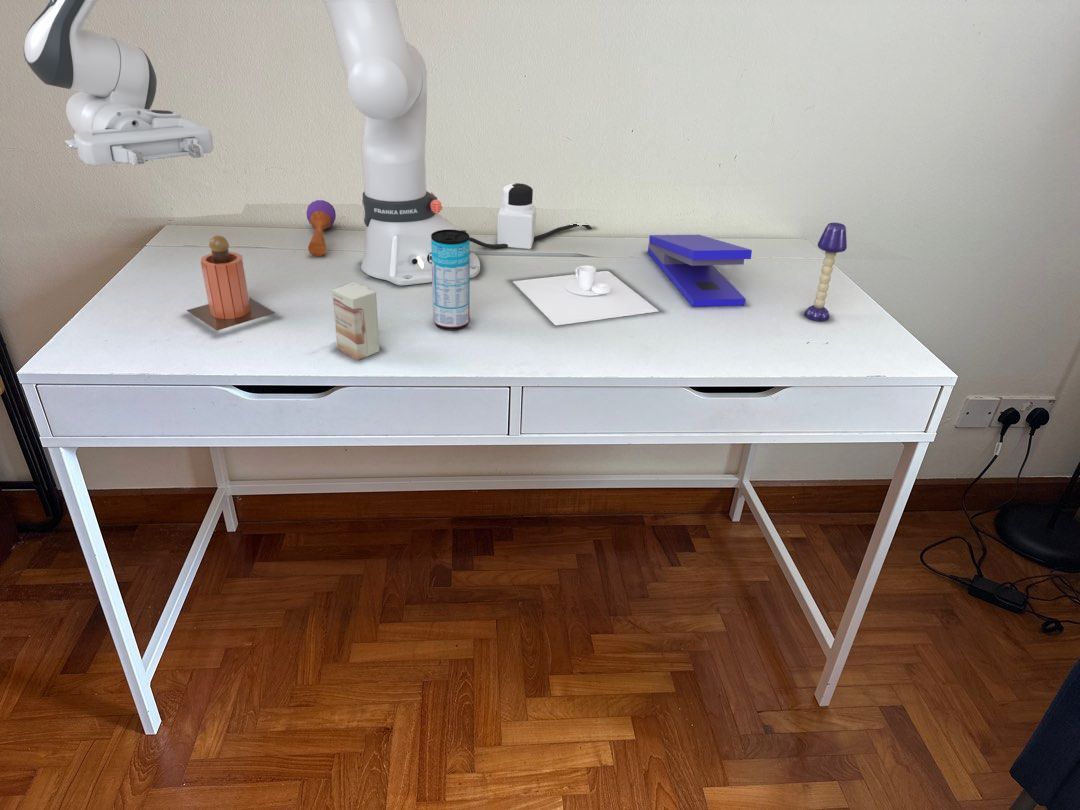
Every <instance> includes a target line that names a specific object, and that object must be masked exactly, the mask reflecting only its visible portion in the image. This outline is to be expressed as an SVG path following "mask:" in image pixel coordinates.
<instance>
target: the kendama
mask: <svg viewBox="0 0 1080 810" xmlns="http://www.w3.org/2000/svg"><path fill="white" fill-rule="evenodd" d="M305 214H306V219H307V221H308V223H309V224H310V225H311V226H312V227H313V228H314V233H313V235H312V237H311V239H310V241H309V244H308V247H307V248H308V252H309V253H310V255H312V256H314V257H321V256H324V255H325V254H326V253H327V252H326V251H327V247H326V240H325V239H326V238H325V234H324V231H325V230H327V229H329V228H331V227H332V226H333V225H334V224H335V222H336V217H337V214H336V210H335V208H334V206H333V205H332V204H331V203H330V202H329V201H326V200H324V199H318V200H314V201H311V203H310V204H308V206H307V209H306V212H305Z"/></svg>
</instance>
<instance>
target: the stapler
mask: <svg viewBox="0 0 1080 810" xmlns="http://www.w3.org/2000/svg"><path fill="white" fill-rule="evenodd" d="M752 253H753V249H751V248H747V247H743V246H739V245H737V244H734V243H730V242H727V241H722V240H719V239H716V238H712V237H708V236H706V235H703V234H649V240H648V247H647V254H648V256H649V257H650V258H651V259H652V261H653V262H654V263H655V264H656V265H657V266H658V267H659V269H660V270H661V271H662V272H663V273H664V275H665V276H666V277H667V279H669V281H670V282H671V283H672V284H673V285H674V287H675V288H676V289H677V290H678V291H679V292H680V294H681V295H682V296H683V297H684V299H685V300H686V301H687V302H688V303H689V304H690V306H691V307H692V308H701V307H703V308H704V307H732V306H733V307H734V306H735V307H736V306H745V304H746V300H747V299H746V297H745V296H744V295H742V293H741V292H740V291H739V290H738V289H737V288H736V287H735V286H734V285H733V284H732V283H731V282H730V281H728V279H727V278H725V276H724V275H723V274H722V273H721V272H720V271H719V270H718V269H716V268H715V266H743V265H744V264H745V260H751V259H752Z"/></svg>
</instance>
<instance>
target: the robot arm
mask: <svg viewBox="0 0 1080 810" xmlns="http://www.w3.org/2000/svg"><path fill="white" fill-rule="evenodd" d="M98 1H99V0H49V2H48V3H47V5H46V6H45V8H44V9H43V10H42V12H41V13H40V14H39V15H38V16H37V18H35V20H34V21H33V22H32V23H31V25H30V27H29V28H28V30H27V32H26V35H25V38H24V42H23V57H24V60H25V62H26V63H27V66H28V67H29V68H30V70H31V71H32V72H33V73H34V74H35V76H36V77H37V78H38V79H39V80H40V81H41V82H42V83H44V84H45V85H47V86H52V87H56V88H62V89H67V90H70V89H71V90H73V91H77V92H75V93H74V94H73V95H71V96H70V97H69V99H68V101H67V103H66V106H65V114H66V118H67V120H68V122H69V125H70V127H71V128H72V129H73V131H74V134H73V137H71V138H70V139H66V140H64V145H65V146H66V147H67V148H68V149H70V150H73V151H76V153H77V156H78V158H79V159H80V160H81V161H82V162H83V163H84V164H85V165H88V166H93V167H101V166H110V165H119V164H128V165H133V166H139V165H144V164H145V163H146V162H148V161H153V160H160V159H169V158H176V157H177V158H178V157H186V156H189V157H191V158H193V159H197V158H203V157H204V154H211V153H212V152H213V151H214V139H213V133H212V131H211V130H210V128H208V127H207V126H205V125H203V124H202V123H199V122H196V121H194V120H192V119H190V118H185V117H182V114H181V113H180V112H178V111H175V110H164V109H163V110H162V109H161V110H160V109H151V108H152V105H153V104H154V101H155V97H156V92H157V85H158V83H157V75H156V72H155V69H154V66H153V64H152V62H151V60H150V58H149V57H148V54H147V53H146V52H145V51H144V50H143V49H142V48H140V47H137V46H135V45H133V44H129V43H126V42H124V41H121V40H119V39H116V38H113V37H109V36H106V35H104V34H100V33H98V32H94V31H92V30H89V29H86V28H84V25H85V23H86V22H87V20H88V18H89V17H90V15H91V13H92V11H93V10H94V8H95V6H96V5H97V3H98ZM323 2H324V5H325V8H326V10H327V14H328V16H329V20H330V23H331V26H332V30H333V34H334V39H335V42H336V46H337V50H338V54H339V58H340V61H341V65H342V69H343V72H344V74H345V78H346V83H347V90H348V95H349V98H350V100H351V102H352V103H353V105H354V107H355V108H356V109H357V110H358V111H359V112H360V113H361V114H363V127H362V129H363V130H362V139H361V161H362V164H361V165H362V176H363V177H362V178H363V187H364V188H363V190H364V191H363V192H362V199H361V206H362V207H361V209H362V219H363V221H364V225H365V236H364V238H365V240H364V250H363V256H362V261H361V265H360V269H361V271H362V272H363V273H364V274H366V275H368V276H370V277H372V278H375V279H379V280H383V281H387V282H390V283H392V284H393V285H397V286H402V287H403V286H412V285H421V284H427V283H428V284H429V283H430V284H431V283H432V254H431V234H432V233H434V232H436V231H439V230H448V229H451V230H460V231H464V232H466V233H467V230H465V229H460V227H458V226H457V225H455V224H454V223H453V222H452V221H450V220H449V219H447V218H446V217H444V216H443V215H442V214H441V212H442V211H443V205H442V203H441V201H440V200H439V199H438V197H437V196H435V194H434V193H433V191H432V192H429V191H428V190H427V173H426V134H427V110H428V109H427V108H428V69H427V65H426V64H427V63H426V62H425V59H424V57H423V56H422V54H421V52H420V51H419V50H418V49H417V48H416V47H415V46H414V45H412V44H411V43H410V42H407V40H406V38H405V34H404V31H403V26H402V22H401V19H400V14H399V11H398V5H397V1H396V0H323ZM572 224H573V223H572ZM576 227H580V226H579V225H577V224H573V225H570V224H567V225H563V226H559V227H556V228H554V229H552V230H550V231H547V232H544V233H541V234H539V235H535V237H534V240H533V242H536V241H538V240H539V241H540V240H543V239H545V238H548V237H551V236H552V235H555V234H556V233H559V232H562V231H566V230H570V229H574V228H576ZM581 227H584V228H586V229H587V230H592V226H591V225H589V224H588V225H582V226H581ZM469 243H473V244H475V245H478V246H480V247H482V248H486V249H504V248H505V249H506V248H509V247H508V245H507V244H497V243H495V244H493V243H486V242H483V241H481V240H479V239H477V238H474V237H472V236H469ZM480 272H481V262H480V259H479V257H478V255H476V253H475V252H473V251H472V250H470V279H473V278H476V277H477V276H478V275H479V274H480Z"/></svg>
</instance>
